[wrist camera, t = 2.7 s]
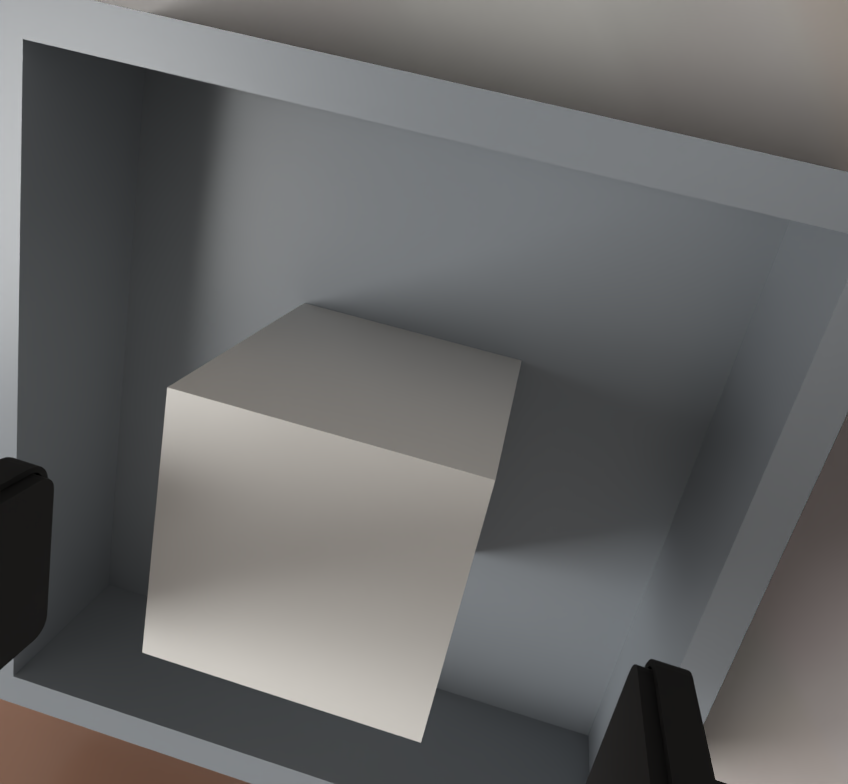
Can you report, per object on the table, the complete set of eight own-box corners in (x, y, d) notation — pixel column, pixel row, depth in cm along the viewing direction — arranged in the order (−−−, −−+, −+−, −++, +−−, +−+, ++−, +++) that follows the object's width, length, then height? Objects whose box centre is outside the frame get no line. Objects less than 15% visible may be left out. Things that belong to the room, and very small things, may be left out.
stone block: (304, 303, 16) (167, 387, 11) (521, 360, 16) (495, 480, 10) (273, 495, 18) (142, 652, 13) (467, 552, 18) (420, 743, 12)
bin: (134, 17, 16) (-23, -27, 12) (838, 178, 14) (948, 195, 10) (97, 583, 21) (-18, 692, 17) (608, 744, 20) (618, 907, 16)
